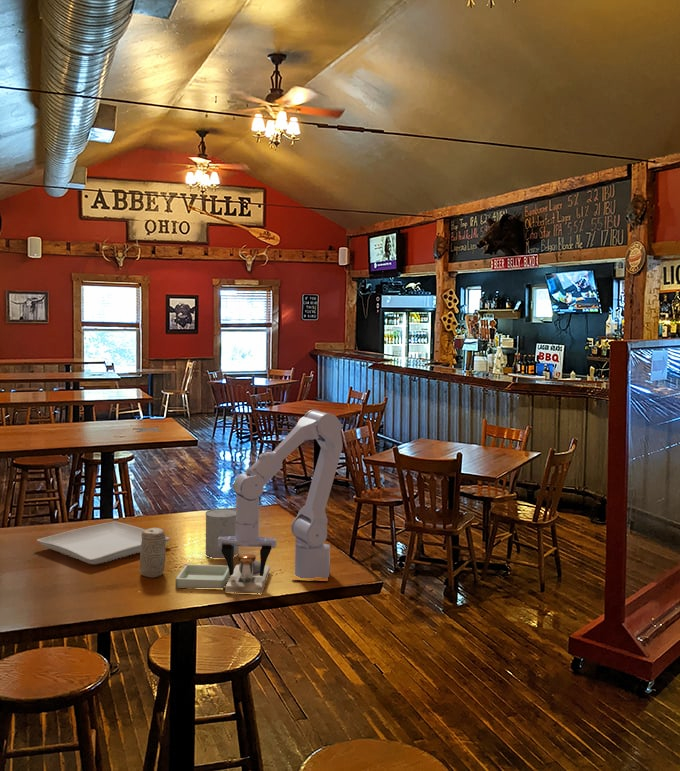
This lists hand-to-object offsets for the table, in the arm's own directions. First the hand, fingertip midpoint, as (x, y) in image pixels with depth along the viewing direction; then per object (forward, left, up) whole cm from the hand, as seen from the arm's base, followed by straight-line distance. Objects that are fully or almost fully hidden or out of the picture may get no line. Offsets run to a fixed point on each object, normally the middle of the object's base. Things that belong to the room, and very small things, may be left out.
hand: (246, 574), depth 186 cm
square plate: (+46, -27, -4) cm, 53 cm away
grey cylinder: (+11, -25, -4) cm, 28 cm away
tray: (+11, -3, -3) cm, 12 cm away
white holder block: (0, -3, -3) cm, 5 cm away
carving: (+26, -7, -4) cm, 27 cm away
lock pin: (0, 0, -3) cm, 3 cm away
